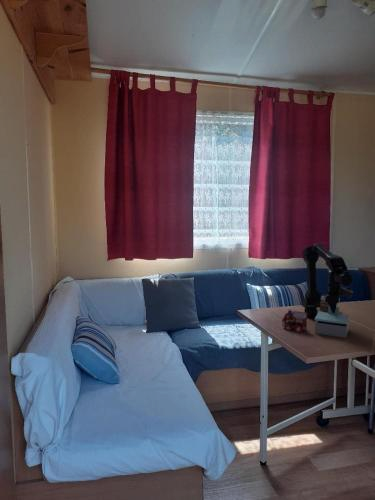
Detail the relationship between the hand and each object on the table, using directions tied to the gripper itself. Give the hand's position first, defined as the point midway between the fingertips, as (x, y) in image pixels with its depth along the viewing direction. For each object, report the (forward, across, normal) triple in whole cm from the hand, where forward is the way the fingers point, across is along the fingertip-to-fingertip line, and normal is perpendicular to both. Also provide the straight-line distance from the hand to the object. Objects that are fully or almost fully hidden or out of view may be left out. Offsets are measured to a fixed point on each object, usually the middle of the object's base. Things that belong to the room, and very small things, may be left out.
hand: (333, 312), depth 178 cm
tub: (+9, -5, 0) cm, 11 cm away
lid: (+2, -5, 0) cm, 6 cm away
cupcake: (+10, +40, +8) cm, 42 cm away
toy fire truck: (+10, -9, +17) cm, 22 cm away
